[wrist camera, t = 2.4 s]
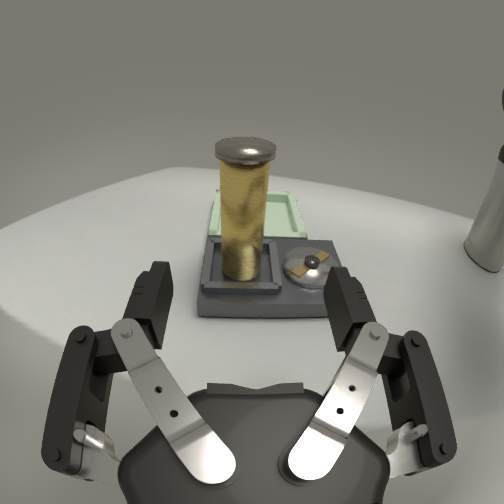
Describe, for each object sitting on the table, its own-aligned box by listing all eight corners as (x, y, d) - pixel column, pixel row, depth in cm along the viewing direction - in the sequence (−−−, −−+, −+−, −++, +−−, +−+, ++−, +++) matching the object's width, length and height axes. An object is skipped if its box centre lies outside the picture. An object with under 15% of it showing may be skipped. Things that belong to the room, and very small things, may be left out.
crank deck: (328, 253, 34) (333, 233, 32) (349, 315, 27) (358, 295, 25) (208, 250, 34) (207, 229, 32) (199, 315, 26) (195, 294, 24)
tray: (291, 203, 44) (293, 192, 43) (305, 250, 35) (307, 237, 33) (216, 201, 43) (216, 189, 42) (208, 248, 34) (208, 234, 33)
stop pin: (263, 252, 31) (273, 138, 23) (265, 283, 27) (279, 155, 19) (219, 251, 30) (217, 136, 22) (216, 282, 27) (211, 153, 19)
